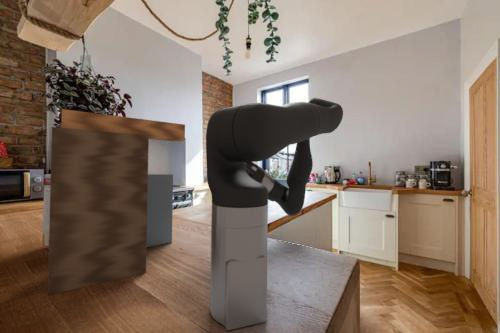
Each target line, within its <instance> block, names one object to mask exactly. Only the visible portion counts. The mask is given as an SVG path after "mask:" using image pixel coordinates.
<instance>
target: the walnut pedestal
mask: <svg viewBox="0 0 500 333" xmlns="http://www.w3.org/2000/svg"><path fill="white" fill-rule="evenodd" d="M149 140H150V139H149V135H138V134H126V133H115V132H104V131H93V130H82V129H71V128H61V127H57V126H51V143H50V144H51V151H50V154H51V155H50V174H51V184H50V224H49V249H48V263H47V264H48V266H47V267H48V270H47V273H48V274H47V296H51V295H55V294H56V295H57V294H60V293H65V292H68V291H73V290H77V289H82V288H86V287H90V286H91V287H92V286H94V285H98V284H99V285H100V284H103V283H106V282H112V281H117V280H120V279H124V278H129V277H134V276H137V275H143V274H146V273H147V248H148V247H147V196H148V174H149V144H150V143H149Z"/></svg>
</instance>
